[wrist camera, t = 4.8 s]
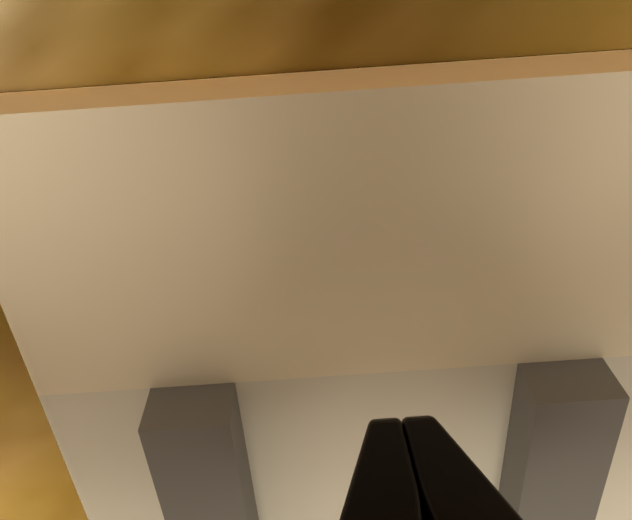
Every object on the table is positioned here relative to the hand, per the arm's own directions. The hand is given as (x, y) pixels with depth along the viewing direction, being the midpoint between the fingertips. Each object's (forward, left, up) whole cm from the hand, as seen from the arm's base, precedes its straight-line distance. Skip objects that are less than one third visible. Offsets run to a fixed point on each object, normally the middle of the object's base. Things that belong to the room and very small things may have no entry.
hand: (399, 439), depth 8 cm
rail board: (0, +5, -4) cm, 6 cm away
